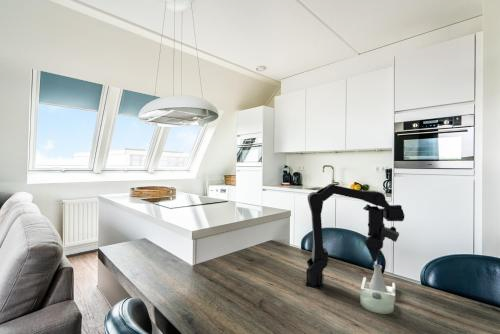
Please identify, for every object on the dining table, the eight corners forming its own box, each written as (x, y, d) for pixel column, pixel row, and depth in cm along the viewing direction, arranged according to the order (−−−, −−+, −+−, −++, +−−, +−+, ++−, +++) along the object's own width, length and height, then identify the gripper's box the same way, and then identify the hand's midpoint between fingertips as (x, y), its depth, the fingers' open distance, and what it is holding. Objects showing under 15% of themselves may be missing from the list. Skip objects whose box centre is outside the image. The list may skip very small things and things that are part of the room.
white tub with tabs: (357, 308, 92) (357, 297, 92) (363, 282, 113) (363, 273, 113) (395, 317, 87) (395, 305, 87) (395, 288, 107) (394, 279, 107)
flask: (390, 295, 100) (390, 270, 100) (370, 293, 102) (370, 268, 101) (384, 286, 107) (384, 263, 107) (366, 285, 109) (366, 261, 109)
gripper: (397, 227, 96) (397, 269, 96) (398, 218, 112) (398, 254, 112) (365, 224, 102) (365, 263, 102) (370, 216, 118) (370, 250, 118)
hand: (375, 257), depth 108 cm, fingers open, 9 cm apart
